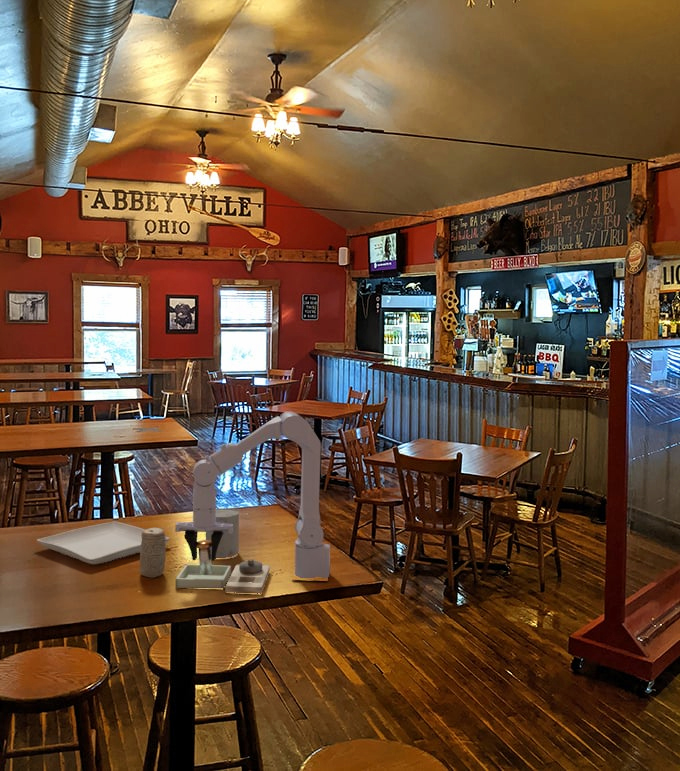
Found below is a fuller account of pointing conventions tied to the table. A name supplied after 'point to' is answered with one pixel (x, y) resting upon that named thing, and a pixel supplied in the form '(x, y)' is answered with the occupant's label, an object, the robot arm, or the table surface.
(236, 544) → the grey cylinder
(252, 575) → the white holder block
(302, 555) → the robot arm
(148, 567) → the carving
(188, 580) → the tray
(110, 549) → the square plate
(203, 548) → the pin
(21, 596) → the table surface
